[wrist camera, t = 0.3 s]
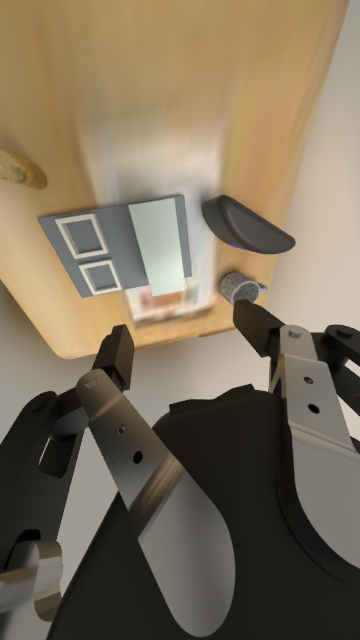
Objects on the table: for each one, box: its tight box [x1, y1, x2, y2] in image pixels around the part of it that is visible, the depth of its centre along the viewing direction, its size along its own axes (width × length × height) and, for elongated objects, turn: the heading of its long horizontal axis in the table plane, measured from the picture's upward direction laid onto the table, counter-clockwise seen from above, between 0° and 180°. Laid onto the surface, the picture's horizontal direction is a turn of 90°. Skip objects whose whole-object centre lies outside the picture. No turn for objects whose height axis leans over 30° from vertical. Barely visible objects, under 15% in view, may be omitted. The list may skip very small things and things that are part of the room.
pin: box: [0, 146, 47, 190], centre depth 19 cm, size 3×3×8 cm
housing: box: [128, 198, 186, 296], centre depth 25 cm, size 12×6×9 cm, turn 8°
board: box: [37, 195, 192, 298], centre depth 26 cm, size 14×24×8 cm, turn 98°
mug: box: [219, 272, 268, 306], centre depth 35 cm, size 10×7×7 cm, turn 93°
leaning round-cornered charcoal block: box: [203, 195, 295, 254], centre depth 27 cm, size 16×5×9 cm, turn 67°
